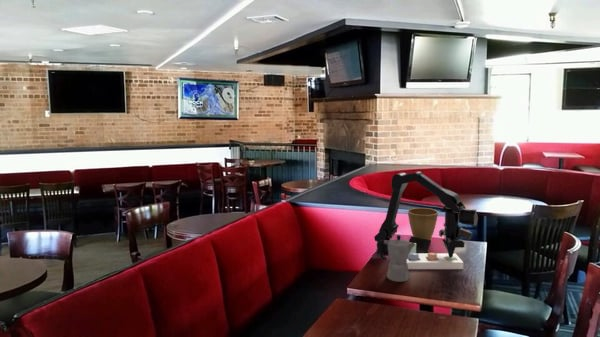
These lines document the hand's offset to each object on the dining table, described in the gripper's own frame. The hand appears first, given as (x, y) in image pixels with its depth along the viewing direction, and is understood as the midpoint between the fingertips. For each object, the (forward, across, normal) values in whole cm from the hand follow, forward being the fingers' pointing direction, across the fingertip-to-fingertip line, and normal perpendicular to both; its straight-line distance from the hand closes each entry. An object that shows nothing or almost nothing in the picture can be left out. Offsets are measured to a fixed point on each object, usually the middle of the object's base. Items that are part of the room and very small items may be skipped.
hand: (450, 257), depth 204 cm
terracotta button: (+2, 0, +8) cm, 8 cm away
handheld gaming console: (+4, +20, +11) cm, 23 cm away
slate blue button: (+2, 0, +16) cm, 16 cm away
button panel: (+4, +1, +8) cm, 9 cm away
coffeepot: (+4, -15, +26) cm, 30 cm away
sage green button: (+4, 0, 0) cm, 4 cm away
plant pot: (+4, +35, +5) cm, 36 cm away
